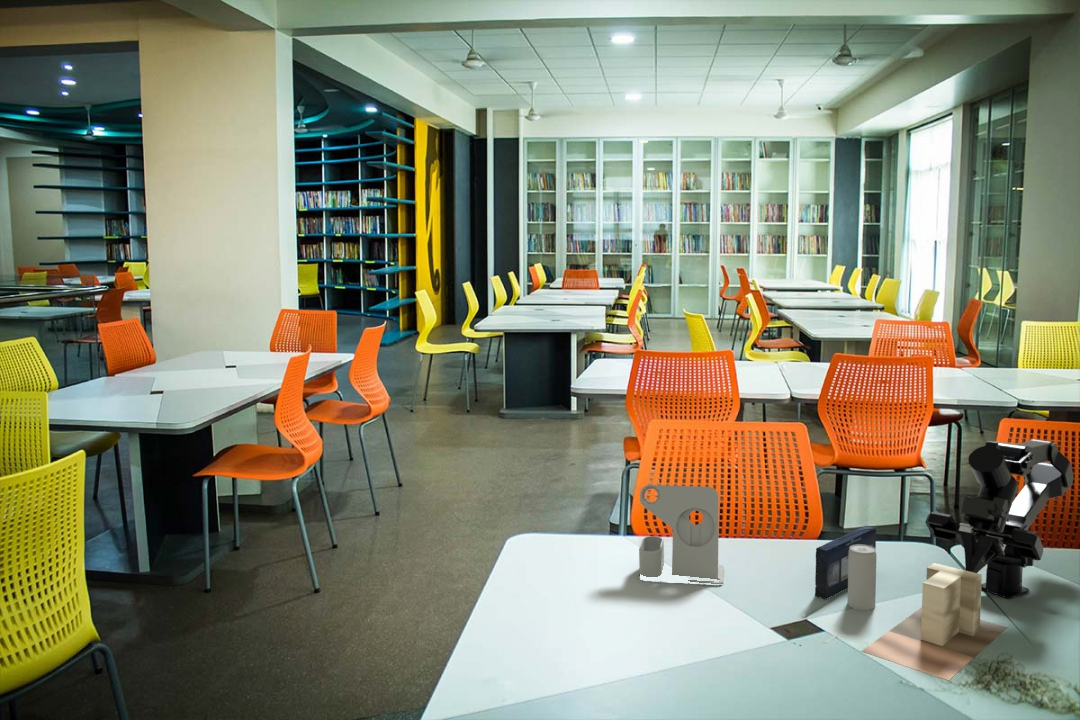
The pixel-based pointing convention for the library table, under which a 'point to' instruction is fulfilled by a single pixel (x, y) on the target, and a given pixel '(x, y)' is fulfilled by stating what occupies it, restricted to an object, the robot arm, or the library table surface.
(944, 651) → the board
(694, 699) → the library table surface
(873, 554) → the beverage can
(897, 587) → the library table surface
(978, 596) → the T block
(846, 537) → the vhs cassette tape
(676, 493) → the phone holder
